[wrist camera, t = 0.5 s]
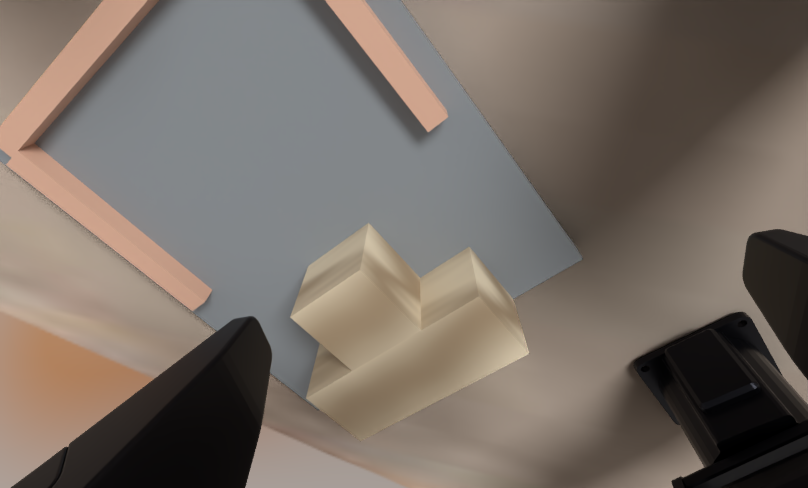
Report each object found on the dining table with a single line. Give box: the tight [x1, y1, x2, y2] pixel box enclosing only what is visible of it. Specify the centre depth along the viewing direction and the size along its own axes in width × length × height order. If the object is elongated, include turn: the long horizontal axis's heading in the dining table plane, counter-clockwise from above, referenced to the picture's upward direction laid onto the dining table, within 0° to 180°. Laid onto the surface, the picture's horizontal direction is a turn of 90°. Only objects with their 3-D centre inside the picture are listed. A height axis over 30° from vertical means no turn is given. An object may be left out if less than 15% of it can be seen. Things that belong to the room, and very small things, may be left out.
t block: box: [290, 223, 529, 441], centre depth 23 cm, size 8×10×4 cm
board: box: [0, 0, 583, 410], centre depth 22 cm, size 21×18×2 cm
